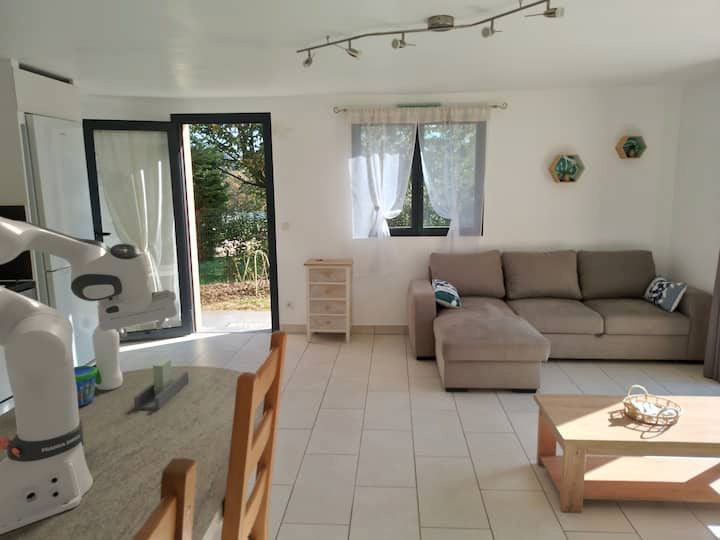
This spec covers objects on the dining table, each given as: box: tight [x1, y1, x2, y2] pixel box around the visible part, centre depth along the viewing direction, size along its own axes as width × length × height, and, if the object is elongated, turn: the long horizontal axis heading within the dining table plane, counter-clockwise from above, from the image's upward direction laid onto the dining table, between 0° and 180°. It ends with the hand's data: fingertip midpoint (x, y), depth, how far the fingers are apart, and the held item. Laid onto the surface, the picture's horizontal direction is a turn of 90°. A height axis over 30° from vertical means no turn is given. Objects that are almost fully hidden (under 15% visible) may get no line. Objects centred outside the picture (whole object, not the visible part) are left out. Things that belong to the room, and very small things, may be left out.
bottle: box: [91, 301, 124, 391], centre depth 159 cm, size 8×8×30 cm
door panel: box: [152, 359, 173, 396], centre depth 153 cm, size 6×3×10 cm, turn 177°
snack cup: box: [74, 365, 102, 407], centre depth 147 cm, size 16×10×10 cm
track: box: [133, 371, 190, 411], centre depth 154 cm, size 22×7×4 cm, turn 177°
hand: (142, 331), depth 140 cm, fingers open, 8 cm apart
